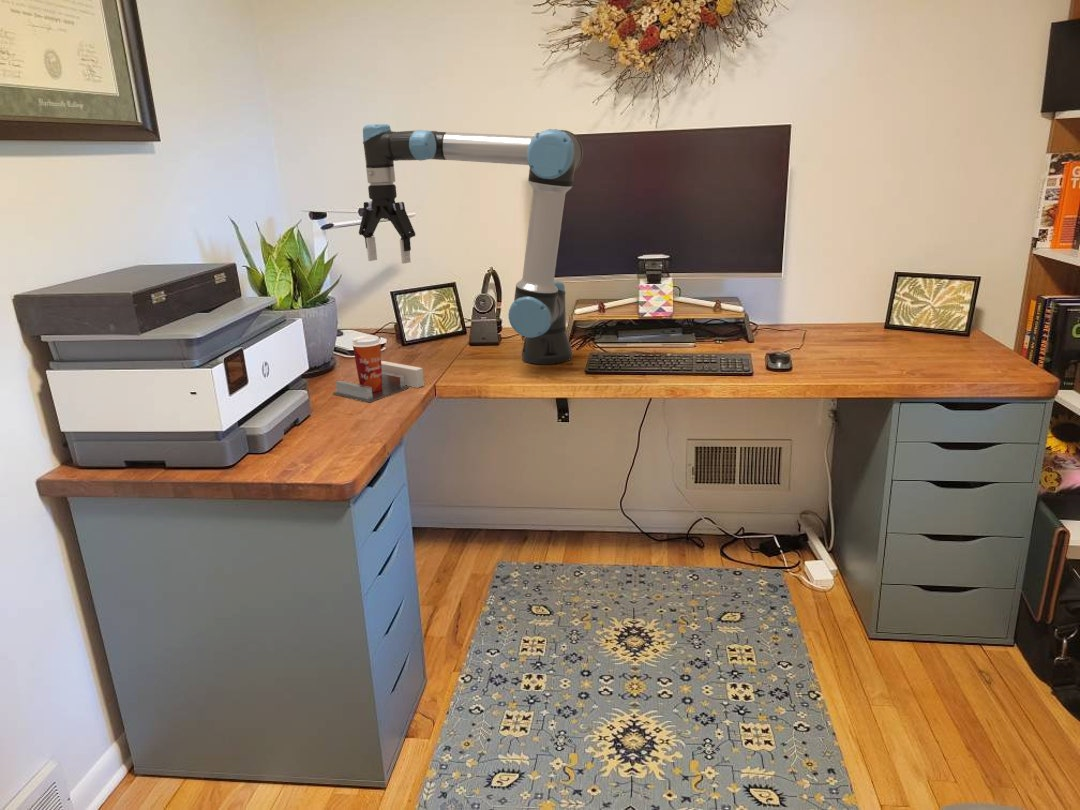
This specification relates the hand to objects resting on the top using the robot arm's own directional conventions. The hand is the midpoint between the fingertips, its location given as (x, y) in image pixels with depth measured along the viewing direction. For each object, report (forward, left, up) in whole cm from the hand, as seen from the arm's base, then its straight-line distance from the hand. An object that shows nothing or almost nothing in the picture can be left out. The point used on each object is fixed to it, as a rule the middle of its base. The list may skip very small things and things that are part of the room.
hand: (389, 261), depth 218 cm
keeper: (-12, +22, -31) cm, 40 cm away
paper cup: (-12, +22, -30) cm, 39 cm away
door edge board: (-12, +12, -31) cm, 35 cm away
